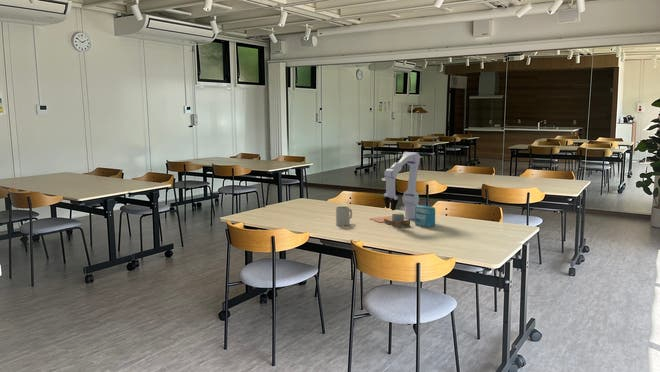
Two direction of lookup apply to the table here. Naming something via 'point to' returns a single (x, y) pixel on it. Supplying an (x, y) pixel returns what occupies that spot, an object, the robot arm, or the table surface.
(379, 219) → the mat
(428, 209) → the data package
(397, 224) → the frame
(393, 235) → the table surface
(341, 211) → the mug
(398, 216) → the blank block
